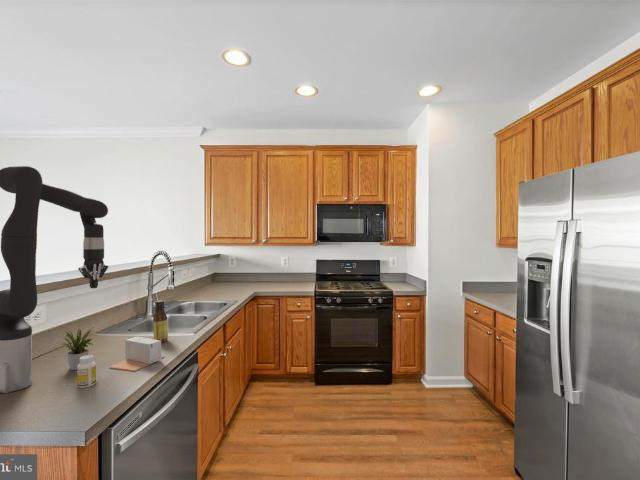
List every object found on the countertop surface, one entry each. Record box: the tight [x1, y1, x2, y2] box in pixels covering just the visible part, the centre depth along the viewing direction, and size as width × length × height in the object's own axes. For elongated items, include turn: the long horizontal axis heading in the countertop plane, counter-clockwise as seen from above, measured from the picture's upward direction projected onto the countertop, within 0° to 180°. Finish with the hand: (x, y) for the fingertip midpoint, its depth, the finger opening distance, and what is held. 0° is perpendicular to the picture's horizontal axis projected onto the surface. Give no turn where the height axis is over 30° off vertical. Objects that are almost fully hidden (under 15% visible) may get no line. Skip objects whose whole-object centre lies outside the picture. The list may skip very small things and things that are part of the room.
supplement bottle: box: [76, 354, 97, 389], centre depth 119 cm, size 5×5×10 cm
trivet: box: [109, 355, 165, 373], centre depth 140 cm, size 16×12×1 cm
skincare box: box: [124, 336, 162, 365], centre depth 142 cm, size 8×6×15 cm
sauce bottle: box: [152, 299, 169, 344], centre depth 168 cm, size 7×6×20 cm
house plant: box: [52, 325, 95, 371], centre depth 133 cm, size 14×14×16 cm
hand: (93, 288), depth 148 cm, fingers closed
